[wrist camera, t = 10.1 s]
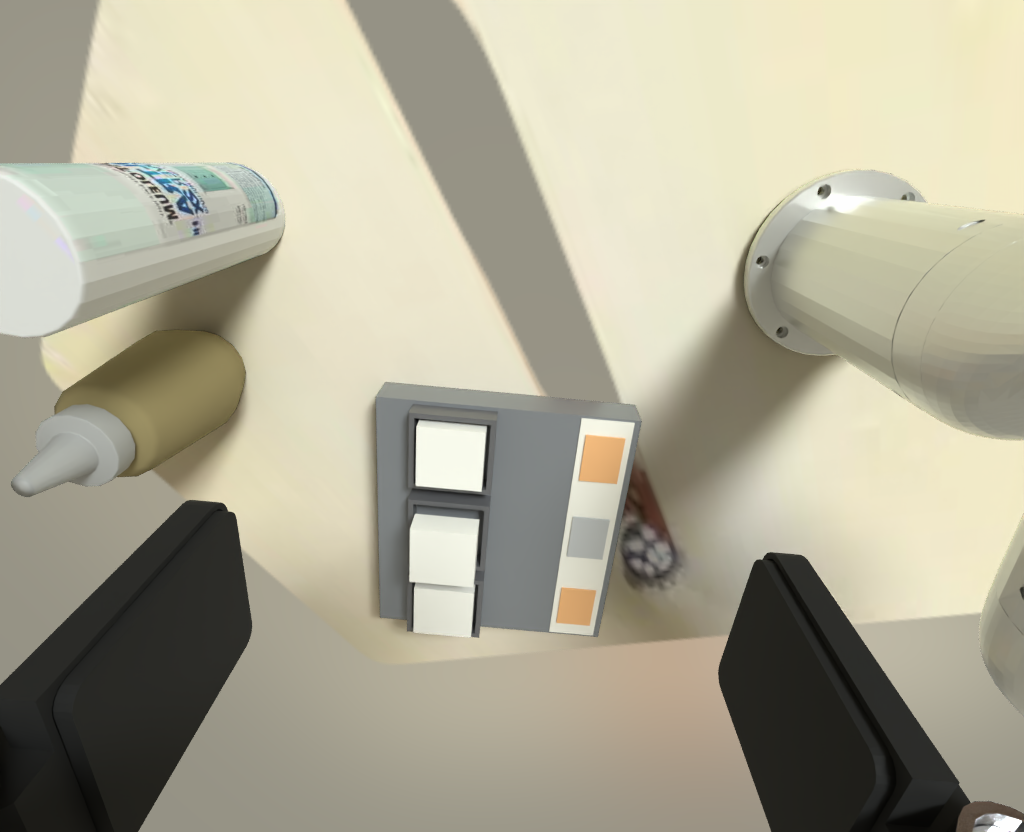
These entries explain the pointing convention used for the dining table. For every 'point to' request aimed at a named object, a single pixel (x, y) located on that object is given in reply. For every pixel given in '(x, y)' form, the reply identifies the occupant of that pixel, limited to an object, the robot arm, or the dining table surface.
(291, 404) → the dining table surface
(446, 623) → the switch
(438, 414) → the switch box
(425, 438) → the switch
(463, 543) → the switch
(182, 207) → the spray can
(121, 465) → the squeeze bottle
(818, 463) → the dining table surface
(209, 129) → the dining table surface
